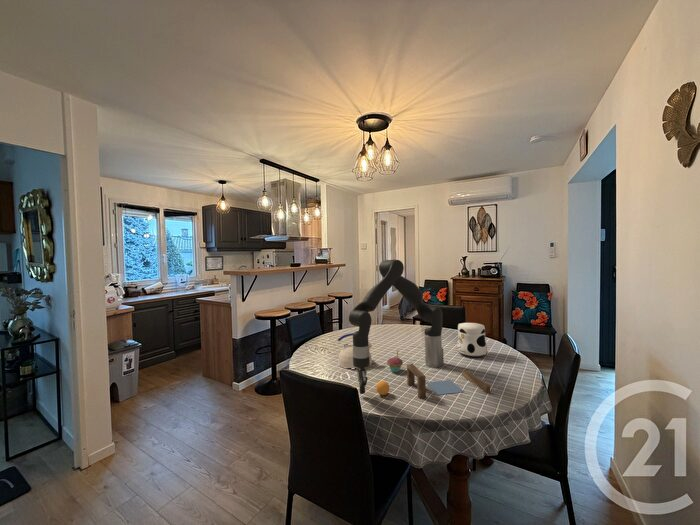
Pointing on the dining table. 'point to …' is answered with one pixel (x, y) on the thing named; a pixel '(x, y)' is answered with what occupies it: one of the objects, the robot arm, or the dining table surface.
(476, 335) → the milk container
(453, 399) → the dining table surface
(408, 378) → the bridge
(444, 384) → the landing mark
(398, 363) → the cupcake
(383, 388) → the ball
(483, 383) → the wall
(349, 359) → the kettle
